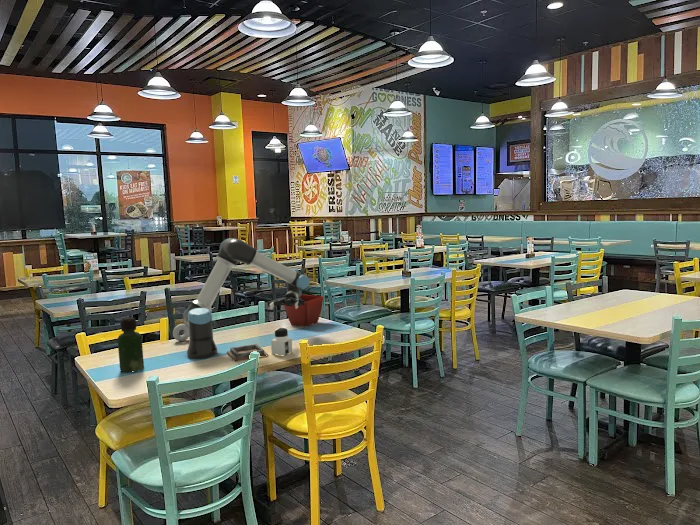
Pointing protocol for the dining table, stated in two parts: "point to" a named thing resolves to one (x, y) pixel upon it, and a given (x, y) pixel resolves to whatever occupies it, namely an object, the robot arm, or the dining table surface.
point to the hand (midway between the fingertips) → (283, 306)
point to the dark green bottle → (130, 346)
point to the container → (281, 342)
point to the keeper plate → (244, 352)
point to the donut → (176, 332)
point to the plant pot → (305, 311)
